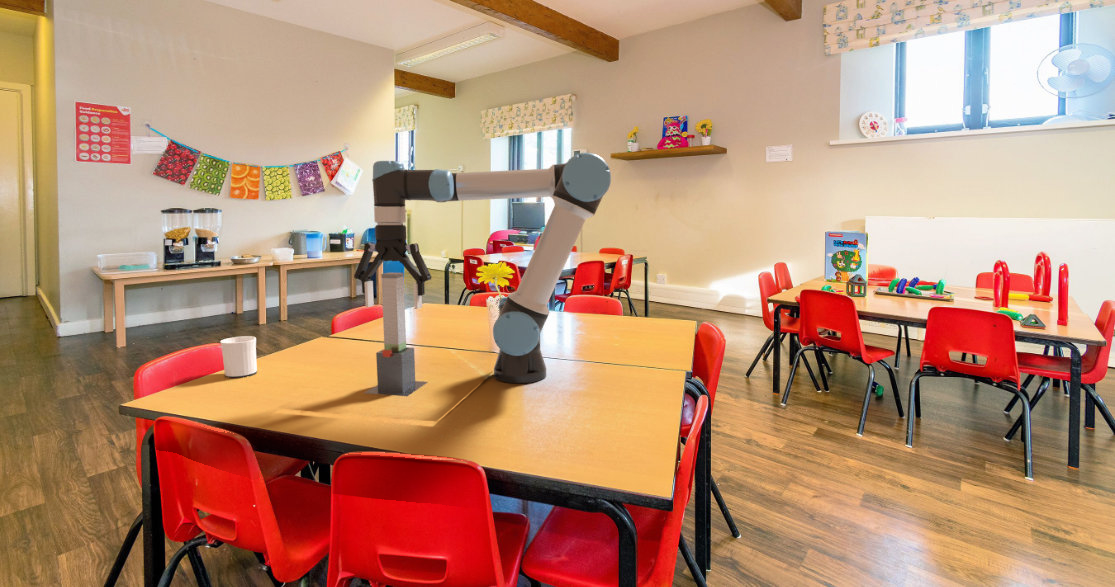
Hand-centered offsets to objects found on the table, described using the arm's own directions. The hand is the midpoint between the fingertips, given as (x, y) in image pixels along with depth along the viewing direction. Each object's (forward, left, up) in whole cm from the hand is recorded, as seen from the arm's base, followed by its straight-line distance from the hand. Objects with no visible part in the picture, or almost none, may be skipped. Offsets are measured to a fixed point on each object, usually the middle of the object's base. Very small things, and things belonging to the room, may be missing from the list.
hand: (393, 307), depth 140 cm
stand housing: (0, 0, -22) cm, 22 cm away
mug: (+52, -5, -22) cm, 57 cm away
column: (0, 0, -14) cm, 14 cm away
